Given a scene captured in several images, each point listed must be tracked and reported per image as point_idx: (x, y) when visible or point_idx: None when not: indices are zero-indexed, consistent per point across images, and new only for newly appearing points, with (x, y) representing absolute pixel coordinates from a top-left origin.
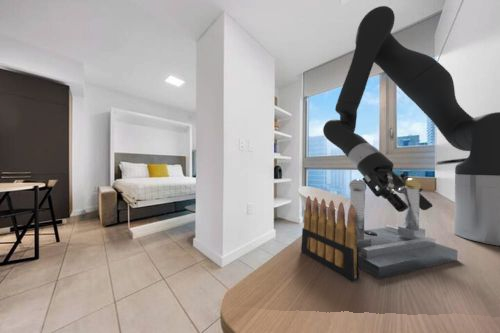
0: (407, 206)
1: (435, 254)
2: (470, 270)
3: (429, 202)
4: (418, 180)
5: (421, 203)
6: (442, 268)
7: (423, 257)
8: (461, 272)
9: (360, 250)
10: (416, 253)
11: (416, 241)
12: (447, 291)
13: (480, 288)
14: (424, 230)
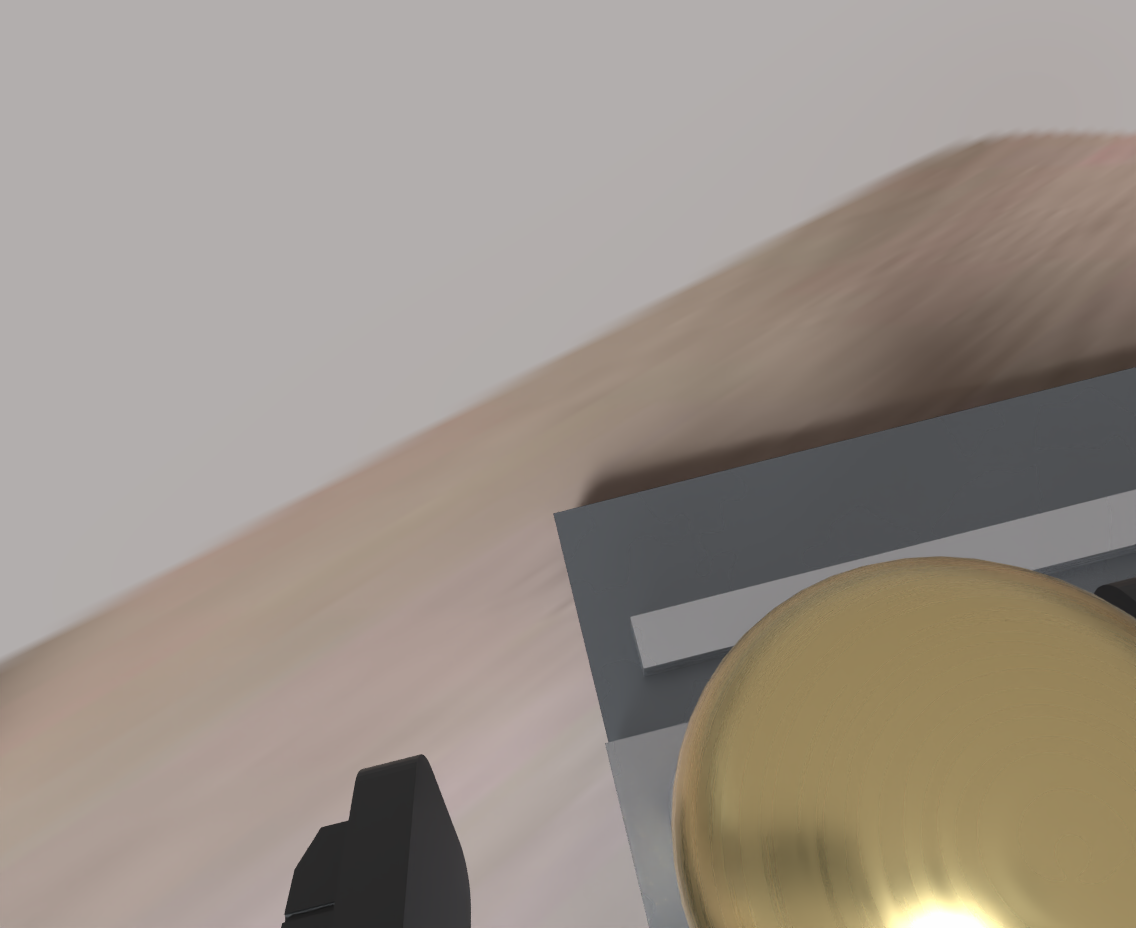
0: (1125, 583)
1: (865, 440)
2: (643, 414)
3: (369, 808)
4: (879, 629)
5: (447, 919)
6: (834, 435)
7: (1030, 395)
8: (745, 392)
9: None
10: (1031, 455)
11: (930, 553)
12: (1068, 234)
13: (829, 258)
14: (616, 742)
